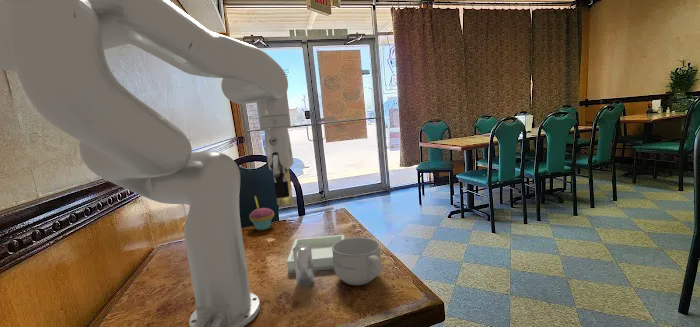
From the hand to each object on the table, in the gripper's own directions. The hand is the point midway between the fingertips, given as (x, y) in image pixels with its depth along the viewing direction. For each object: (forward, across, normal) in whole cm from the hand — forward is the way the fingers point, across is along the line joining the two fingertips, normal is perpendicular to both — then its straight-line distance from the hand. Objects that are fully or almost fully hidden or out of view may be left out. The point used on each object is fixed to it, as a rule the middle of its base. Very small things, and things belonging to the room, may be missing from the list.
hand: (284, 194), depth 78 cm
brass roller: (+2, 0, 0) cm, 2 cm away
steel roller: (+17, -13, -5) cm, 22 cm away
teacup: (+18, -15, -17) cm, 29 cm away
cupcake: (+19, +28, +14) cm, 36 cm away
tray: (+18, -1, -7) cm, 19 cm away
